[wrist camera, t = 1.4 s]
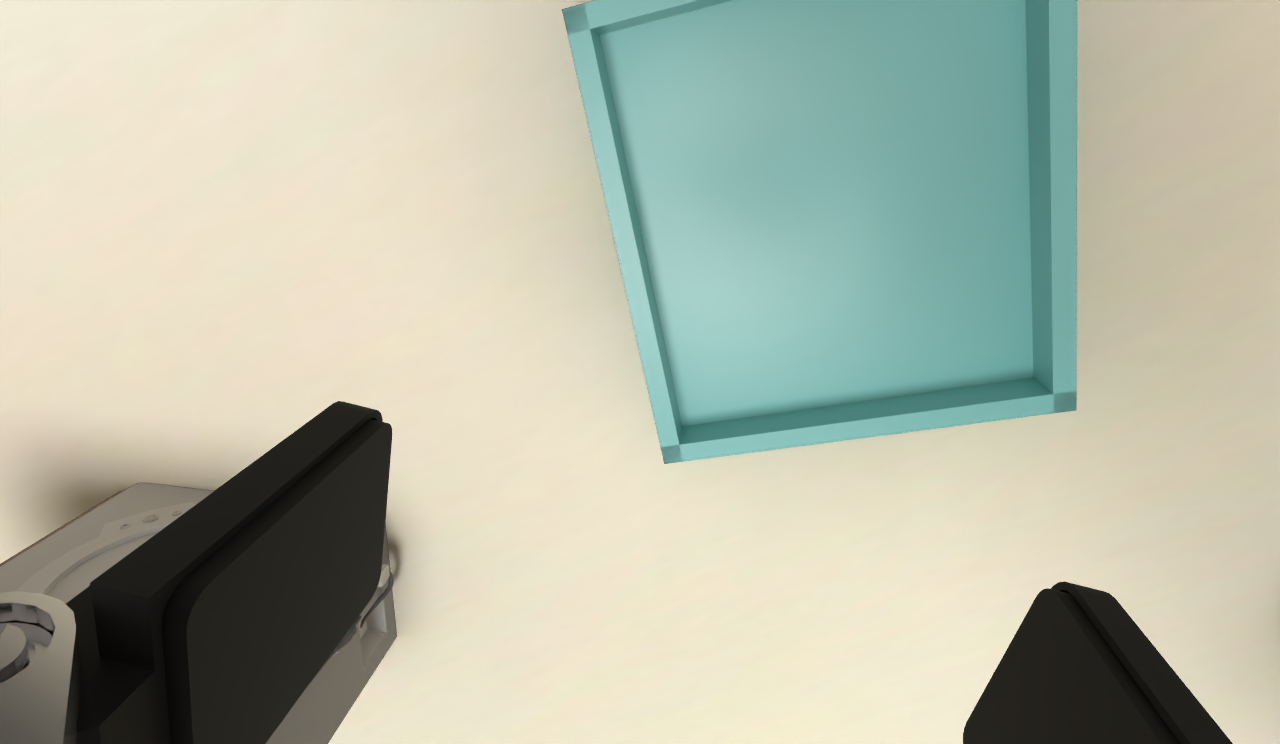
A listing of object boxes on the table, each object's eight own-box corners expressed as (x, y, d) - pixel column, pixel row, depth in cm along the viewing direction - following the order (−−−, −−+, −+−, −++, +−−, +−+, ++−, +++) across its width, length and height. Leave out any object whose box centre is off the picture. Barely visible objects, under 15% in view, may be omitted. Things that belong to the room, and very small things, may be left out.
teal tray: (1041, -106, 27) (1076, -131, 24) (1048, 386, 34) (1076, 410, 32) (577, 19, 31) (561, 9, 28) (669, 438, 38) (664, 463, 35)
